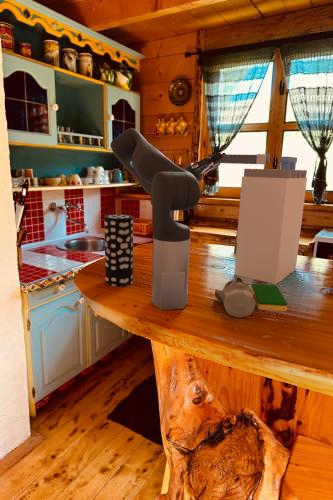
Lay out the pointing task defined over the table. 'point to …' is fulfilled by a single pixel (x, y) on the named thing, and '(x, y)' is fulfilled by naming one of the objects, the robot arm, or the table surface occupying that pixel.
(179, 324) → the table surface
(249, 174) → the stand
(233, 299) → the ceramic sculpture
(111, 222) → the white-spotted black cylinder
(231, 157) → the grey rectangular bar
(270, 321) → the table surface
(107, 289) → the table surface
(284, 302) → the dish sponge
